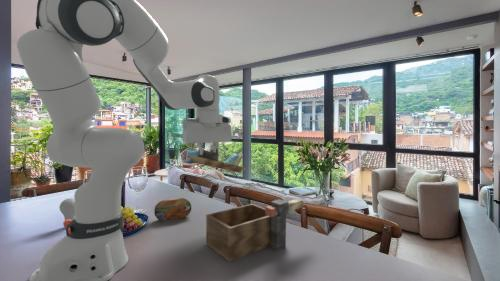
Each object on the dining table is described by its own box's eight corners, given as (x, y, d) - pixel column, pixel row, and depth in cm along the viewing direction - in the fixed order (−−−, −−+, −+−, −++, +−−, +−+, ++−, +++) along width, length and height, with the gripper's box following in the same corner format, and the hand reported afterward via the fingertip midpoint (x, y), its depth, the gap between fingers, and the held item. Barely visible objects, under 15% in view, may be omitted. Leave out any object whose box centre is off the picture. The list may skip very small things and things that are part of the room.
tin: (154, 222, 103) (154, 202, 102) (154, 219, 106) (153, 200, 105) (191, 217, 109) (191, 198, 108) (190, 214, 112) (190, 196, 111)
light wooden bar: (271, 216, 79) (271, 209, 78) (265, 214, 81) (265, 206, 81) (303, 207, 88) (303, 200, 88) (296, 205, 91) (297, 198, 90)
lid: (208, 166, 86) (211, 150, 86) (185, 160, 100) (189, 147, 100) (251, 175, 98) (254, 161, 99) (226, 169, 112) (229, 157, 113)
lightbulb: (81, 226, 98) (80, 198, 97) (62, 231, 94) (61, 202, 93) (77, 222, 102) (76, 195, 101) (58, 226, 98) (57, 198, 97)
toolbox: (238, 268, 70) (239, 215, 69) (206, 243, 85) (206, 199, 84) (287, 247, 83) (288, 202, 82) (252, 228, 97) (252, 190, 96)
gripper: (186, 117, 88) (186, 156, 89) (234, 119, 101) (233, 153, 102) (179, 118, 93) (179, 155, 94) (225, 119, 106) (225, 151, 107)
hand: (208, 154), depth 98 cm, fingers closed on lid, 3 cm apart
